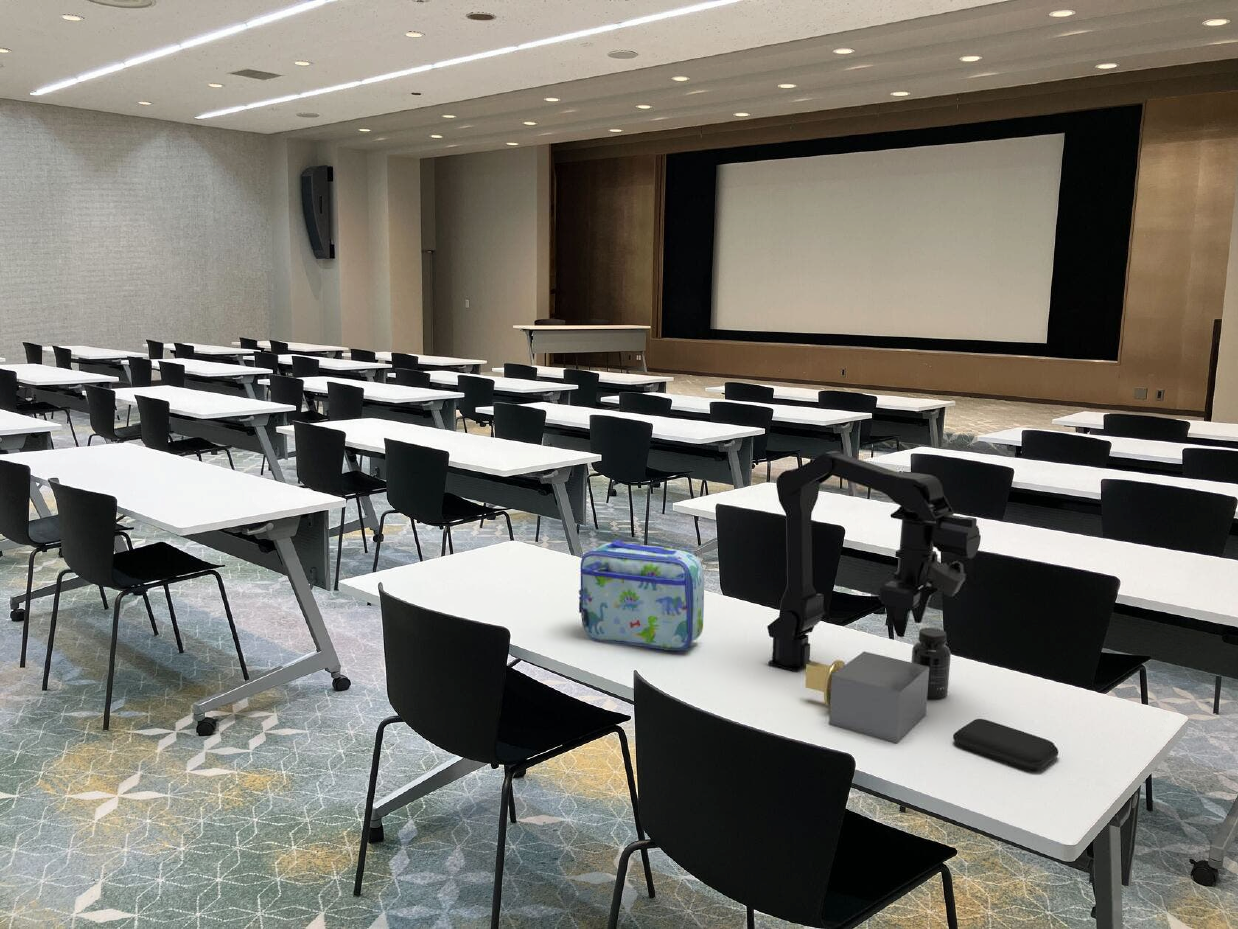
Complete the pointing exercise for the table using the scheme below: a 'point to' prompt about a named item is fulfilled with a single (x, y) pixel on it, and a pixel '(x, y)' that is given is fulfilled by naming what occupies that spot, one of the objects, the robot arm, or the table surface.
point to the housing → (879, 696)
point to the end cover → (821, 677)
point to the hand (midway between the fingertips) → (909, 629)
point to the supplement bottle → (933, 660)
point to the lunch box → (642, 596)
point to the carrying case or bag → (1006, 744)
